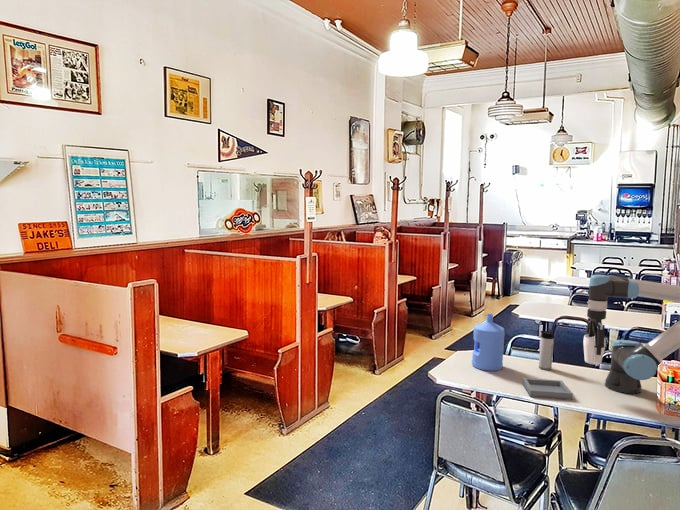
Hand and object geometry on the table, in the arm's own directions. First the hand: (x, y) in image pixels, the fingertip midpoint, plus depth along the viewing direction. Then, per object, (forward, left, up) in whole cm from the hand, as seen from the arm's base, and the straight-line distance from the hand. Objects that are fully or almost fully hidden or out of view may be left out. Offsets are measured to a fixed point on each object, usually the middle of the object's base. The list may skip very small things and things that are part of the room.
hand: (593, 358), depth 228 cm
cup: (0, 0, -2) cm, 2 cm away
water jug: (+41, -31, -18) cm, 54 cm away
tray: (+19, 0, -17) cm, 26 cm away
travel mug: (+11, -34, -18) cm, 40 cm away
